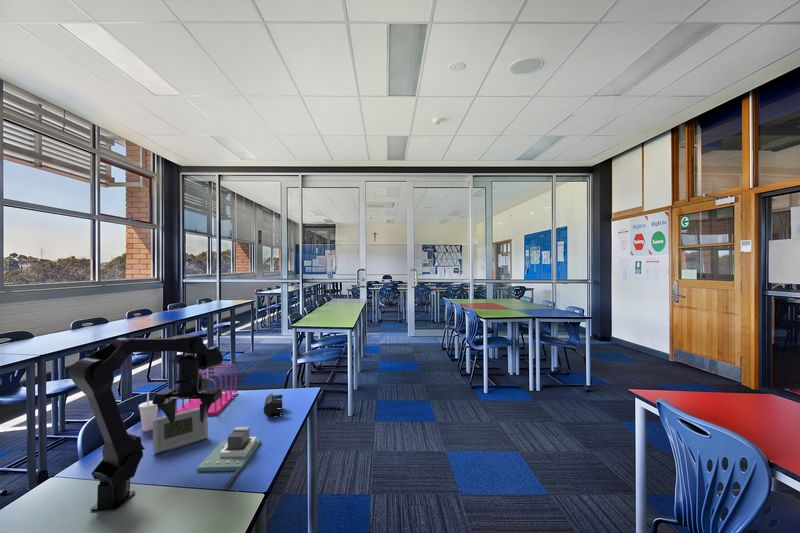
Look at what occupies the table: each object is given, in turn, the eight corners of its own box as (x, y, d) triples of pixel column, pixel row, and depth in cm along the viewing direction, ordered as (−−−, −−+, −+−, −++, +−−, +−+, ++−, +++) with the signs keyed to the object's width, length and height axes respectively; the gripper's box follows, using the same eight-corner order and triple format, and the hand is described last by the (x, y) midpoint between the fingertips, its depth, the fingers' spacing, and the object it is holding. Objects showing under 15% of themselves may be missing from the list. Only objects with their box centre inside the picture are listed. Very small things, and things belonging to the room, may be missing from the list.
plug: (241, 453, 104) (242, 435, 104) (227, 454, 104) (227, 435, 104) (249, 443, 110) (249, 426, 110) (235, 444, 110) (236, 426, 110)
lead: (227, 490, 88) (227, 486, 88) (223, 490, 88) (223, 486, 88) (245, 464, 100) (245, 461, 100) (242, 464, 100) (242, 461, 100)
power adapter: (265, 409, 140) (265, 394, 141) (282, 407, 143) (282, 392, 143) (263, 419, 131) (263, 402, 131) (281, 417, 133) (281, 400, 133)
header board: (241, 470, 97) (241, 461, 97) (197, 471, 96) (197, 462, 96) (260, 442, 113) (260, 434, 113) (223, 443, 112) (223, 435, 112)
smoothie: (133, 431, 120) (134, 394, 120) (150, 423, 126) (151, 388, 126) (146, 433, 118) (147, 396, 119) (163, 425, 125) (164, 390, 125)
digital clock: (150, 456, 104) (151, 423, 104) (154, 443, 112) (155, 413, 112) (208, 443, 112) (208, 412, 113) (208, 432, 120) (208, 403, 120)
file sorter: (171, 418, 131) (172, 380, 132) (200, 395, 156) (201, 363, 156) (216, 416, 134) (217, 378, 134) (238, 393, 159) (238, 362, 159)
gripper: (230, 366, 111) (229, 411, 111) (174, 367, 110) (173, 412, 110) (213, 376, 100) (212, 426, 100) (151, 377, 99) (150, 428, 98)
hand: (187, 422), depth 102 cm, fingers open, 9 cm apart
